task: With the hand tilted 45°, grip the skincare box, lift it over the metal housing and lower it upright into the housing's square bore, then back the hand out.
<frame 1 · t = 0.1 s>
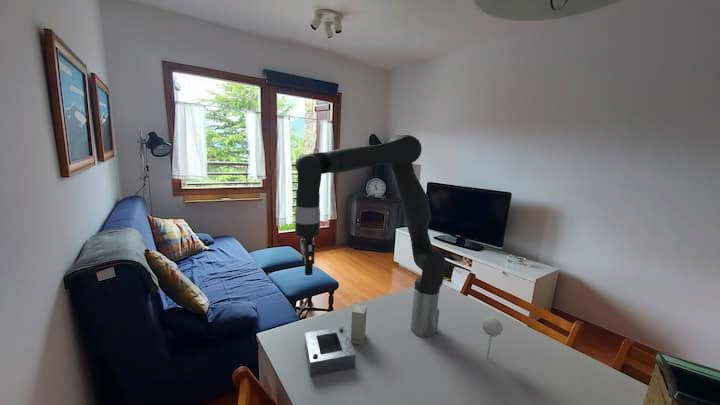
hand: (307, 269, 88), 29 cm above the table, tool pointing down, fingers open, 8 cm apart
housing: (328, 356, 91), on the table
skincare box: (357, 339, 101), on the table
lollipop: (487, 358, 94), on the table
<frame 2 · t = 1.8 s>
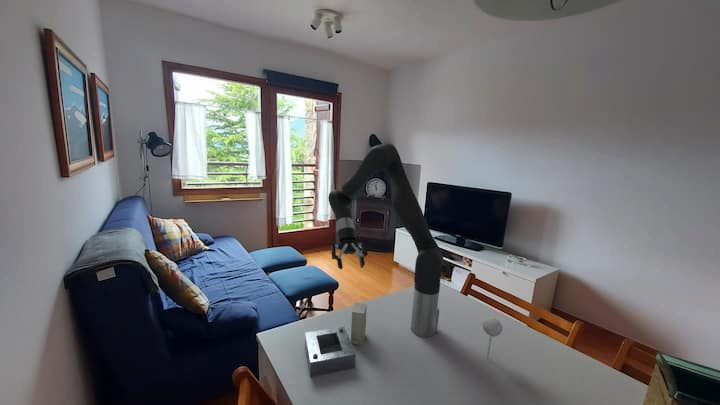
hand: (352, 267, 107), 22 cm above the table, tool tilted 45°, fingers open, 8 cm apart
nothing on the table moved.
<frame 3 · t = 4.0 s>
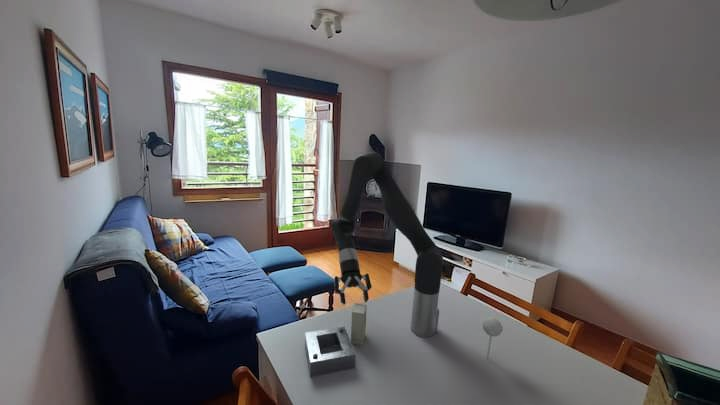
hand: (355, 302, 103), 11 cm above the table, tool tilted 45°, fingers open, 8 cm apart
nothing on the table moved.
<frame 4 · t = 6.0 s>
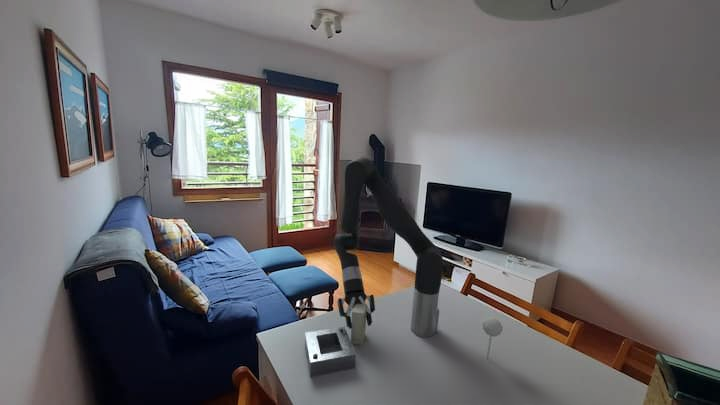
hand: (360, 326, 98), 6 cm above the table, tool tilted 45°, fingers closed on skincare box, 6 cm apart
skincare box: (357, 339, 101), on the table, touching gripper
everything else where it was.
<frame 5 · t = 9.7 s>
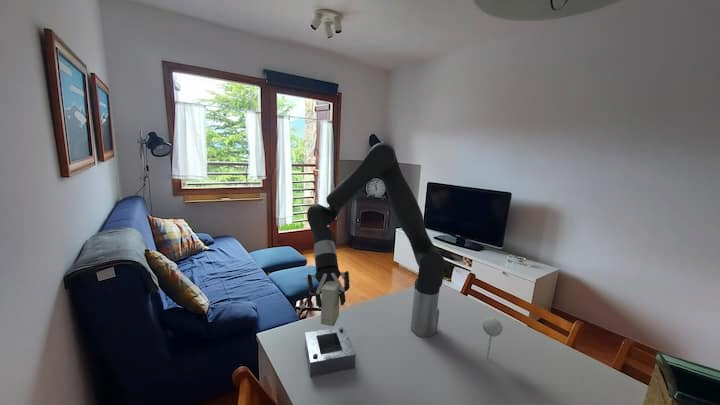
hand: (331, 306, 86), 19 cm above the table, tool tilted 45°, fingers closed on skincare box, 6 cm apart
skincare box: (329, 320, 89), point 13 cm above the table, touching gripper
everything else where it was.
when the fingers open (7 cm above the table, at t = 13.3 s): skincare box drops 1 cm, resting in housing.
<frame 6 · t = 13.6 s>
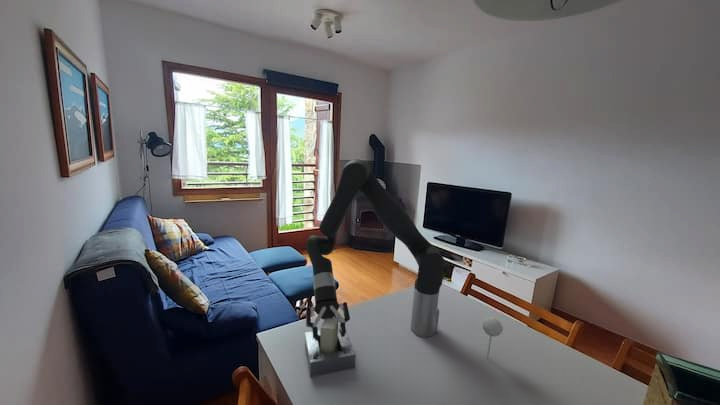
hand: (330, 338, 89), 8 cm above the table, tool tilted 45°, fingers open, 8 cm apart
skincare box: (328, 356, 92), resting in housing
everything else where it was.
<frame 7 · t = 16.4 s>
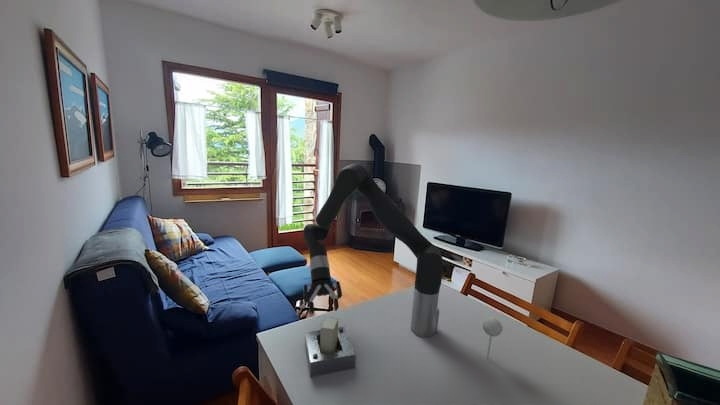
hand: (324, 311, 101), 9 cm above the table, tool tilted 45°, fingers open, 8 cm apart
nothing on the table moved.
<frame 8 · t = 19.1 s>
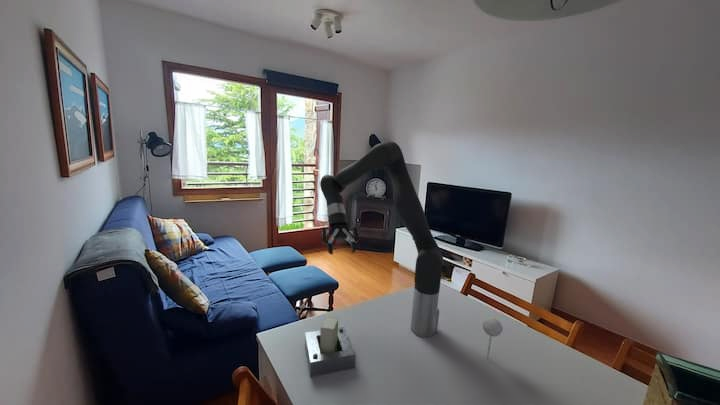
hand: (342, 253, 105), 29 cm above the table, tool tilted 45°, fingers open, 8 cm apart
nothing on the table moved.
at the end: skincare box 0.2 cm off-centre on the housing, point 0.0 cm above the housing's base; skincare box tilted 0°; the gripper is holding nothing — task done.
